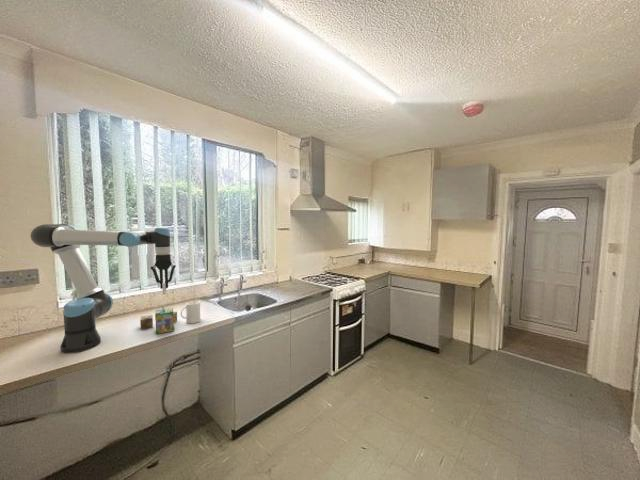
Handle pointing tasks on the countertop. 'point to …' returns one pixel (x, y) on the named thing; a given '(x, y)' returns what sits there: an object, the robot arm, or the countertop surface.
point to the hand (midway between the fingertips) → (164, 293)
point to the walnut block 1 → (146, 322)
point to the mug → (192, 312)
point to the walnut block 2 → (175, 316)
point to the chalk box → (164, 320)
